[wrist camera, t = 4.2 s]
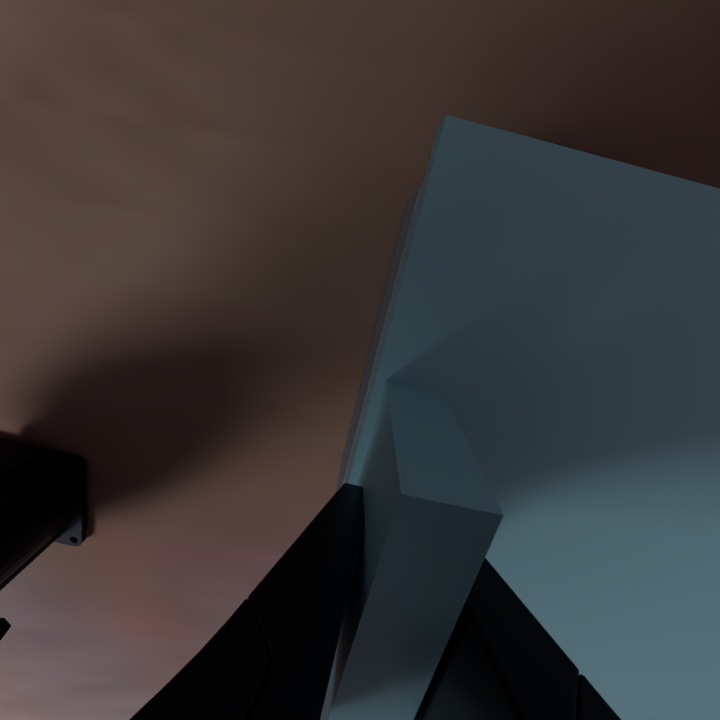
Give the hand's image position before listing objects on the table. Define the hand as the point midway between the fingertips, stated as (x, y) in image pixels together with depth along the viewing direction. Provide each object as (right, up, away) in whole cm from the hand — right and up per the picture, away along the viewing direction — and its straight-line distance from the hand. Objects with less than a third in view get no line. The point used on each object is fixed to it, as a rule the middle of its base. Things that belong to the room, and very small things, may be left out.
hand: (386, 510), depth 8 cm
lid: (+5, -1, +2) cm, 6 cm away
